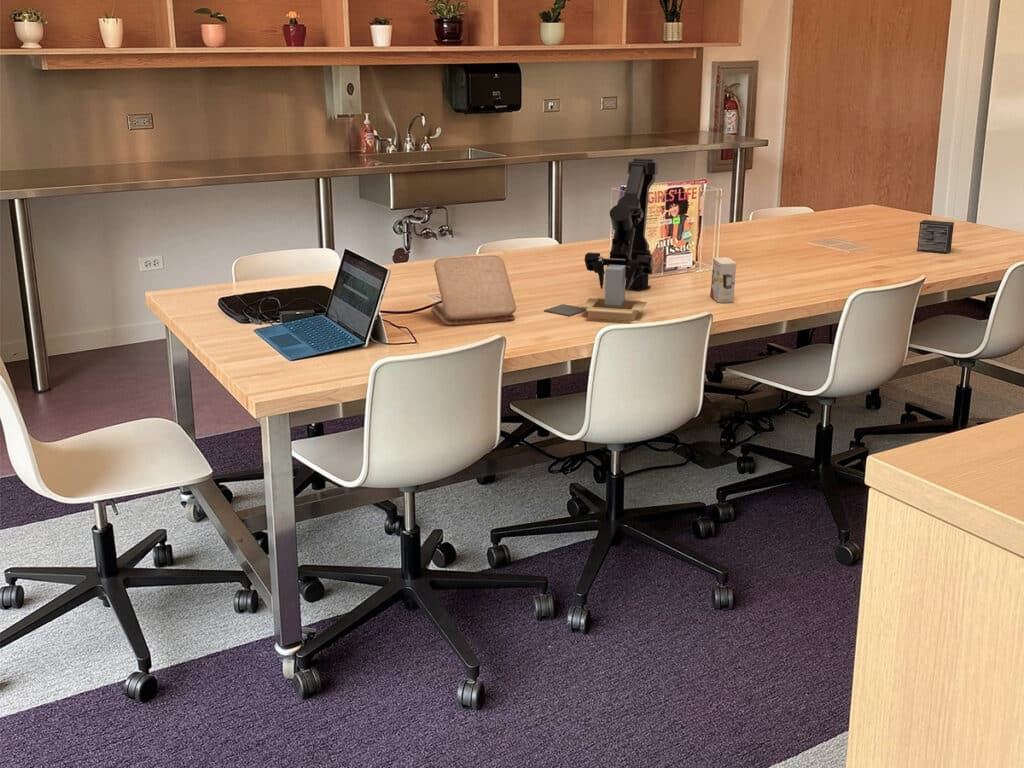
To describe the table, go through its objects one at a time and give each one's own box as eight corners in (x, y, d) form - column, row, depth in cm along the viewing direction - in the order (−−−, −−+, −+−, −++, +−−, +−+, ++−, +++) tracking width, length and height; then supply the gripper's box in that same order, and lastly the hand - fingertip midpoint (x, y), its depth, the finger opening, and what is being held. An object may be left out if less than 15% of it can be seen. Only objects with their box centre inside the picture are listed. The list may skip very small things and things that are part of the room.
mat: (563, 305, 323) (563, 304, 323) (588, 310, 318) (588, 308, 317) (544, 311, 316) (544, 310, 316) (569, 316, 311) (569, 315, 311)
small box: (951, 251, 395) (955, 221, 392) (947, 254, 390) (951, 224, 387) (920, 248, 401) (923, 219, 397) (916, 251, 395) (919, 221, 392)
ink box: (709, 296, 333) (711, 257, 329) (726, 295, 333) (728, 256, 330) (717, 303, 325) (719, 263, 321) (734, 302, 325) (737, 262, 321)
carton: (592, 304, 323) (592, 295, 322) (649, 308, 319) (649, 298, 318) (578, 319, 307) (578, 309, 306) (638, 324, 303) (638, 313, 302)
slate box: (608, 309, 316) (609, 264, 312) (624, 310, 315) (625, 265, 311) (604, 314, 311) (605, 268, 307) (620, 315, 310) (621, 269, 306)
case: (445, 328, 301) (444, 269, 296) (429, 309, 320) (428, 254, 315) (518, 322, 307) (518, 265, 302) (497, 304, 326) (497, 250, 321)
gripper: (658, 259, 321) (650, 306, 314) (594, 256, 326) (585, 301, 319) (654, 237, 311) (646, 284, 304) (588, 234, 316) (579, 280, 309)
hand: (614, 288), depth 310 cm, fingers open, 7 cm apart
